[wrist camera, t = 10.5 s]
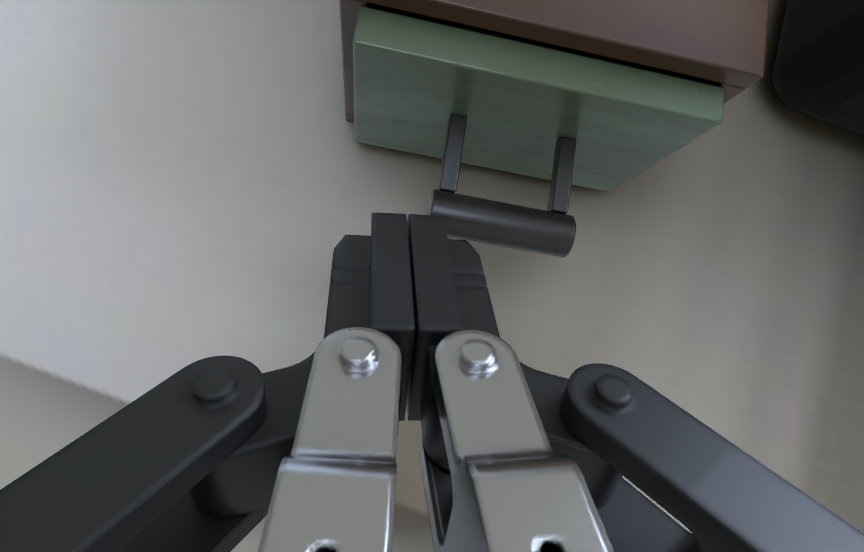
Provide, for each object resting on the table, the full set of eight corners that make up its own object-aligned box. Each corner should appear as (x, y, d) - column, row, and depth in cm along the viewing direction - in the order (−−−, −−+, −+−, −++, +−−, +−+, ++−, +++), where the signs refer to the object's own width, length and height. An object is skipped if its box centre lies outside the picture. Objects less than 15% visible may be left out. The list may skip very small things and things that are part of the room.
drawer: (598, 286, 24) (712, 258, 16) (336, 239, 23) (325, 185, 15) (638, -77, 26) (753, -249, 19) (405, -136, 25) (426, -347, 17)
